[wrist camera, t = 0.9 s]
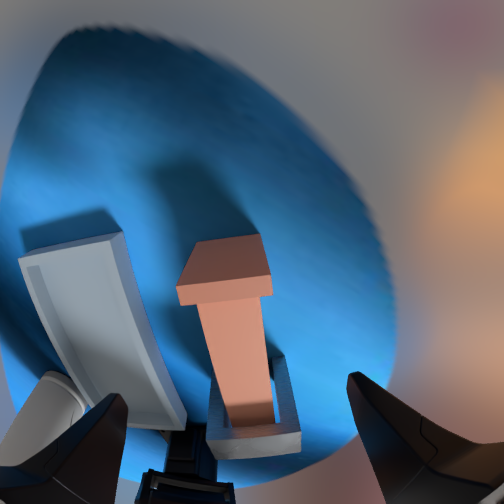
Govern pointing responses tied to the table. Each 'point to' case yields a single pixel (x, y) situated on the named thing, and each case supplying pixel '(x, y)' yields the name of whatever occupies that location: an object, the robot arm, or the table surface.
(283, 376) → the bracket
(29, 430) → the travel mug
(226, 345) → the pink curved block
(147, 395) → the tray
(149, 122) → the table surface
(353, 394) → the robot arm
